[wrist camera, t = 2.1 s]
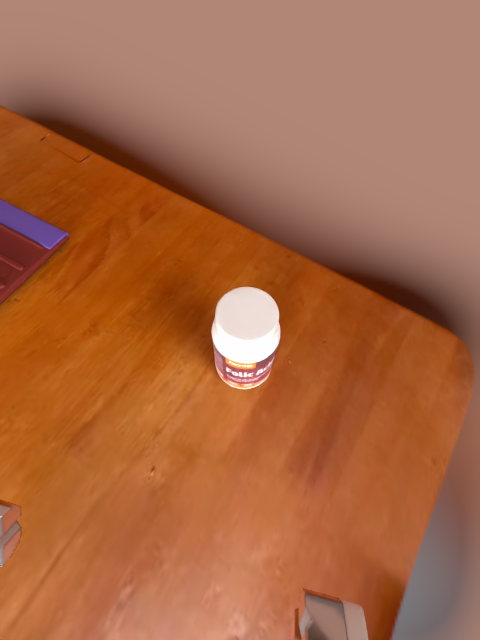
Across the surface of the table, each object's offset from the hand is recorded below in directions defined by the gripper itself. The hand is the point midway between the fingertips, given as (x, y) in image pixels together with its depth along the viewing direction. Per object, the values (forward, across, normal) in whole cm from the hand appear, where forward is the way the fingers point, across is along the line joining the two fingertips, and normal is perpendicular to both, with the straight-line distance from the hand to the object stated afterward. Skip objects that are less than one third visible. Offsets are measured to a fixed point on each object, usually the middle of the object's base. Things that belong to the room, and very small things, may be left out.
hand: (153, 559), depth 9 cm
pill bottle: (+20, 0, +2) cm, 20 cm away
